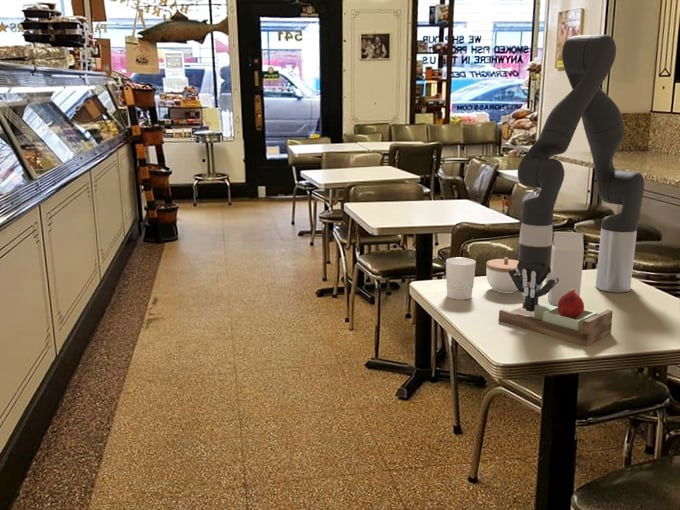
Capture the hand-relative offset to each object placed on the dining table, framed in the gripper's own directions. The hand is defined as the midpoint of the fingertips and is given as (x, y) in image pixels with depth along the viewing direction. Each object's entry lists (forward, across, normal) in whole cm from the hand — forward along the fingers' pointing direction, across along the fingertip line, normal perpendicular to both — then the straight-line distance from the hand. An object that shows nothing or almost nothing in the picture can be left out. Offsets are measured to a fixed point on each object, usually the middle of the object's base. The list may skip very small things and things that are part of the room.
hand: (530, 310), depth 166 cm
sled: (+1, -8, 0) cm, 8 cm away
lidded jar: (+3, +19, -17) cm, 26 cm away
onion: (0, -10, 0) cm, 10 cm away
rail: (+2, -6, 0) cm, 7 cm away
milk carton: (+3, +2, -19) cm, 19 cm away
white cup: (+3, +24, -3) cm, 24 cm away
